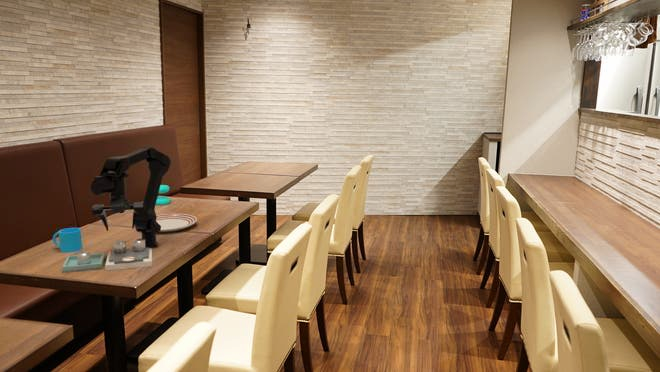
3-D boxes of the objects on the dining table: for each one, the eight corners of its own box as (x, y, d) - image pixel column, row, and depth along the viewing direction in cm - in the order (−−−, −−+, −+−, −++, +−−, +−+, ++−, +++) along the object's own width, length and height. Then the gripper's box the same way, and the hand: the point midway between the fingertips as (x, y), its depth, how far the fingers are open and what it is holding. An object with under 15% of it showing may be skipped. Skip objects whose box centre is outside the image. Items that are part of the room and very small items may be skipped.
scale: (108, 257, 209) (108, 248, 208) (152, 253, 213) (151, 245, 213) (105, 271, 193) (104, 262, 192) (152, 266, 198) (151, 257, 197)
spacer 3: (133, 249, 210) (132, 239, 209) (145, 248, 211) (145, 238, 210) (133, 252, 206) (132, 242, 205) (145, 251, 207) (144, 241, 206)
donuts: (155, 188, 293) (148, 185, 301) (156, 206, 295) (149, 203, 302) (172, 186, 299) (165, 183, 307) (173, 203, 301) (166, 200, 309)
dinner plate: (175, 237, 236) (174, 230, 235) (124, 232, 244) (123, 225, 244) (208, 222, 262) (207, 216, 261) (160, 218, 270) (160, 211, 269)
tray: (67, 261, 204) (67, 256, 203) (104, 257, 208) (104, 253, 207) (62, 272, 192) (62, 267, 191) (101, 268, 196) (101, 263, 195)
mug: (86, 247, 221) (85, 228, 220) (74, 253, 213) (72, 233, 212) (60, 245, 223) (58, 226, 222) (47, 251, 215) (45, 232, 214)
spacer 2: (114, 250, 208) (113, 240, 207) (126, 249, 209) (126, 239, 208) (113, 254, 203) (112, 244, 203) (126, 253, 205) (125, 243, 204)
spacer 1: (78, 262, 201) (77, 252, 200) (91, 260, 202) (90, 250, 202) (77, 265, 197) (76, 255, 196) (90, 264, 198) (89, 254, 197)
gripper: (88, 196, 194) (92, 237, 197) (143, 193, 199) (145, 233, 202) (91, 190, 204) (95, 229, 207) (143, 187, 210) (145, 225, 213)
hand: (120, 229), depth 207 cm, fingers open, 9 cm apart
